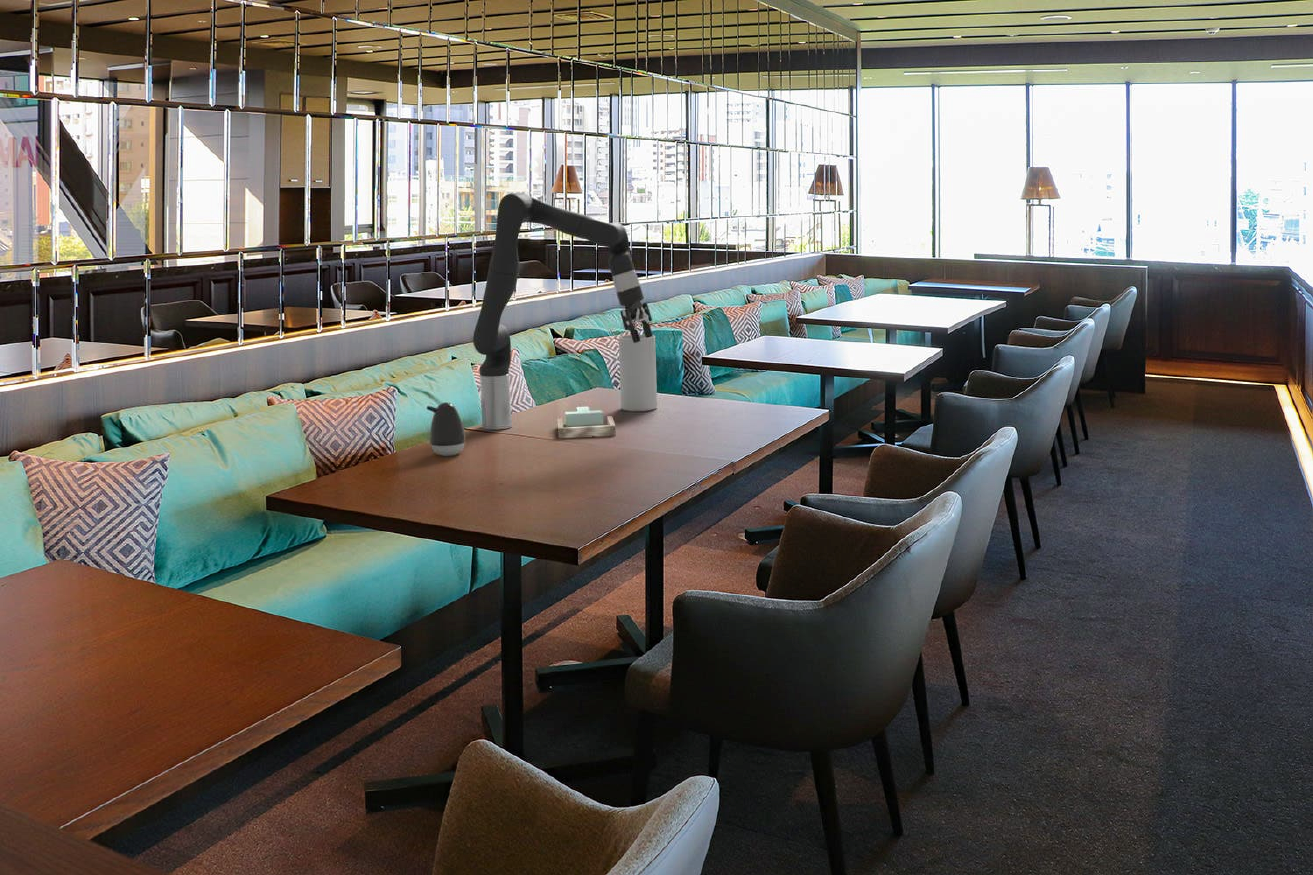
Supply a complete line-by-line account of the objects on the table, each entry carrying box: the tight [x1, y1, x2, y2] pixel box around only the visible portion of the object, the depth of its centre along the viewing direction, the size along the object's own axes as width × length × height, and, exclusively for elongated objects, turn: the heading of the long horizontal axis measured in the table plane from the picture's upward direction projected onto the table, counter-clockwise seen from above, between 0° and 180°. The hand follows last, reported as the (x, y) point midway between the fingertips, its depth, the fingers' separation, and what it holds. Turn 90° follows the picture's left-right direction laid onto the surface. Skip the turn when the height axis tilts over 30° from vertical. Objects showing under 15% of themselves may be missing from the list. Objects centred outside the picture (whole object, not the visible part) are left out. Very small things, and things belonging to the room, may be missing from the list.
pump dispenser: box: [426, 402, 466, 457], centre depth 320 cm, size 10×10×15 cm
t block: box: [564, 406, 604, 427], centre depth 364 cm, size 12×12×4 cm
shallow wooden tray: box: [557, 415, 616, 439], centre depth 348 cm, size 17×16×3 cm
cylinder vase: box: [618, 334, 658, 412], centre depth 383 cm, size 12×12×25 cm
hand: (643, 339), depth 337 cm, fingers open, 8 cm apart
